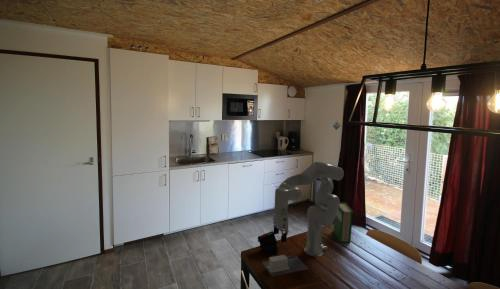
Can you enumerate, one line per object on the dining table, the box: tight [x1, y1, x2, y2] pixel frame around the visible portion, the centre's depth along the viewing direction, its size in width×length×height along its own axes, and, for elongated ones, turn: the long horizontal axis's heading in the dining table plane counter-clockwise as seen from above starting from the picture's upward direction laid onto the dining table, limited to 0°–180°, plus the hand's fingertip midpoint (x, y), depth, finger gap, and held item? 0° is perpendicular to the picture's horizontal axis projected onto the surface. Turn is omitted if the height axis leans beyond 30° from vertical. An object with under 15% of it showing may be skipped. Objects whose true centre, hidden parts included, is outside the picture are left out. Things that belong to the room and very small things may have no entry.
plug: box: [268, 254, 297, 271], centre depth 150 cm, size 16×4×6 cm, turn 110°
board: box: [261, 255, 309, 277], centre depth 152 cm, size 24×14×5 cm, turn 110°
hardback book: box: [333, 201, 354, 244], centre depth 191 cm, size 18×7×24 cm, turn 176°
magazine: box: [257, 230, 279, 254], centre depth 166 cm, size 4×13×15 cm, turn 87°
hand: (279, 237), depth 147 cm, fingers open, 9 cm apart
